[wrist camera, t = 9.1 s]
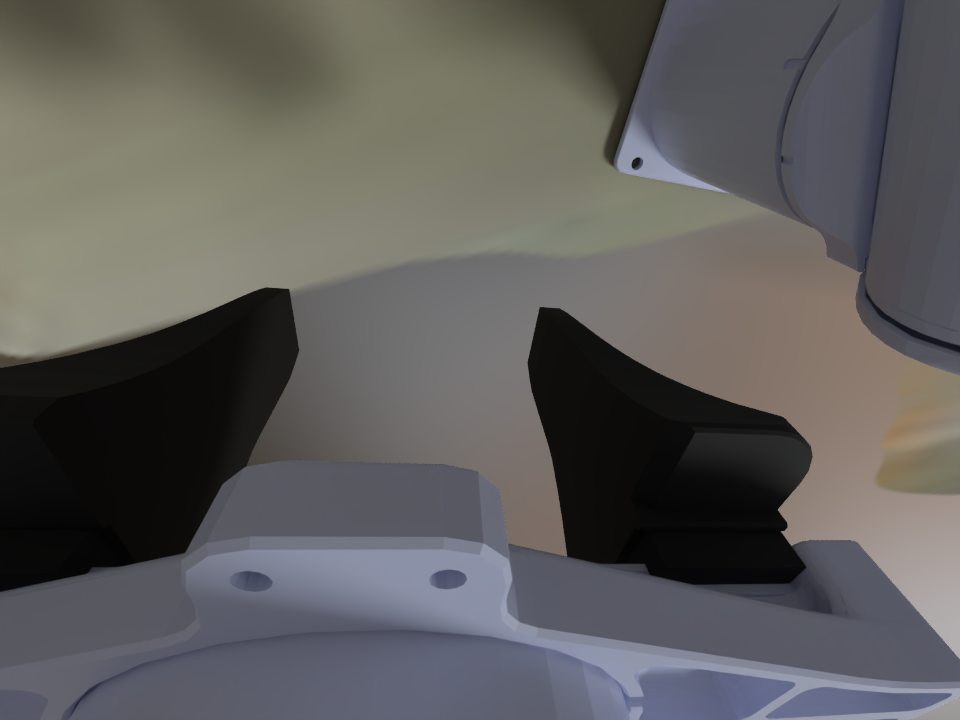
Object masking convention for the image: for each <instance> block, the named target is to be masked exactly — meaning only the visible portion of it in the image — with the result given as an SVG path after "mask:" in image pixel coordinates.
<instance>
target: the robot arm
mask: <svg viewBox="0 0 960 720" xmlns="http://www.w3.org/2000/svg"><path fill="white" fill-rule="evenodd" d="M637 157H639V159H640V162H639V164H638V166H637V167H635V168H632V166H631V165H632V161H633V160H634V159H635V158H637ZM614 167H615V169H616V170H617V171H619V172H621V173H624V174H630V175H635V176H640V177H645V178H650V179H656V180H661V181H666V182H671V183H677V184H682V185H687V186H692V187H697V188H703V189H708V190H713V191H718V192H723V193H729V194H733V195H736V196H738V197H740V198H743V199H745V200H748V201H750V202H752V203H755V204H757V205H759V206H762V207H764V208H767V209H769V210H771V211H774V212H776V213H779V214H781V215H783V216H786V217H788V218H791V219H793V220H795V221H798V222H800V223H802V224H805V225H807V226H810V227H812V228H815V229H816V230H817V231H818V232H820V233H821V235H822V236H823V238H824V240H825V243H826V246H827V256H828V257H829V258H831V259H833V260H835V261H837V262H840V263H842V264H844V265H846V266H848V267H850V268H852V269H854V270H856V271H858V272H863V271H864V272H863V273H862V274H861V275H860V279H859V283H858V288H857V292H856V308H857V311H858V314H859V316H860V318H861V320H862V322H863V323H864V325H865V326H866V327H867V328H868V329H869V330H870V332H871V333H872V334H873V335H875V336H876V337H877V338H879V339H880V340H881V341H883V342H884V343H885V344H886V345H888V346H890V347H891V348H893V349H895V350H897V351H899V352H900V353H902V354H904V355H906V356H908V357H910V358H913V359H915V360H917V361H920V362H922V363H925V364H927V365H929V366H932V367H935V368H938V369H941V370H945V371H948V372H951V373H954V374H957V375H960V0H666V3H665V6H664V9H663V12H662V15H661V18H660V21H659V24H658V27H657V30H656V33H655V36H654V39H653V42H652V45H651V48H650V51H649V54H648V57H647V61H646V64H645V67H644V70H643V73H642V76H641V79H640V82H639V85H638V88H637V91H636V94H635V97H634V100H633V103H632V106H631V109H630V112H629V115H628V118H627V121H626V124H625V127H624V130H623V133H622V136H621V139H620V142H619V145H618V148H617V151H616V155H615V158H614ZM864 269H865V270H864ZM298 352H299V347H298V340H297V334H296V328H295V323H294V316H293V310H292V304H291V298H290V292H289V289H280V288H263V289H259V290H256V291H254V292H251V293H249V294H246V295H244V296H242V297H240V298H237V299H235V300H233V301H231V302H228V303H226V304H224V305H222V306H219V307H217V308H215V309H213V310H210V311H208V312H206V313H203V314H201V315H198V316H196V317H193V318H191V319H188V320H186V321H183V322H181V323H178V324H176V325H173V326H171V327H168V328H165V329H163V330H160V331H157V332H154V333H151V334H148V335H145V336H141V337H138V338H135V339H132V340H128V341H125V342H122V343H118V344H114V345H110V346H106V347H102V348H98V349H94V350H90V351H85V352H81V353H78V354H73V355H69V356H64V357H59V358H54V359H49V360H44V361H39V362H33V363H28V364H22V365H16V366H10V367H4V368H0V720H911V719H913V718H915V717H918V716H920V715H922V714H924V713H926V712H928V711H931V710H933V709H935V708H937V707H939V706H942V705H944V704H946V703H948V702H950V701H952V700H955V699H957V698H959V697H960V659H959V658H958V657H957V656H956V655H955V653H954V652H953V651H952V650H951V649H950V648H949V646H947V644H946V643H945V642H944V641H943V640H942V639H941V637H940V636H939V635H938V634H937V633H936V632H935V630H933V628H932V627H931V626H930V625H929V624H928V623H927V621H926V620H925V619H924V618H923V617H922V616H921V615H920V613H919V612H918V611H917V610H916V609H915V608H914V607H913V605H912V604H911V603H910V602H909V601H908V600H907V599H906V598H905V596H904V595H903V594H902V593H901V592H900V591H899V589H898V588H897V587H896V586H895V585H894V584H893V583H892V582H891V581H890V579H889V578H888V577H887V576H886V575H885V574H884V572H883V571H882V570H881V569H880V568H879V567H878V566H877V564H876V563H875V562H874V561H873V560H872V559H871V558H870V556H869V555H868V554H867V553H866V552H865V551H864V550H863V549H862V547H861V546H860V545H859V544H858V543H857V542H855V541H851V540H809V541H802V542H800V543H797V544H795V545H793V546H791V545H790V544H789V542H788V541H787V540H786V538H785V537H784V536H783V534H782V533H781V531H785V529H786V528H787V522H786V521H785V519H784V518H783V517H782V516H781V514H780V513H779V511H778V508H779V507H780V506H781V505H782V504H783V502H784V501H785V500H786V499H787V498H788V497H789V496H790V494H791V493H792V492H793V491H794V490H795V489H796V487H797V486H798V485H799V484H800V482H801V481H802V480H803V478H804V477H805V475H806V474H807V472H808V471H809V467H810V464H811V460H812V451H811V446H810V445H809V444H808V443H807V441H806V440H805V439H804V438H803V437H802V436H801V435H800V434H799V433H798V432H797V431H796V429H795V428H794V427H792V425H791V424H789V423H788V421H787V420H786V419H785V418H783V417H781V416H778V415H774V414H771V413H767V412H763V411H760V410H756V409H753V408H749V407H746V406H742V405H738V404H735V403H732V402H729V401H726V400H723V399H720V398H717V397H714V396H712V395H709V394H706V393H703V392H701V391H698V390H696V389H693V388H690V387H688V386H686V385H683V384H681V383H679V382H677V381H674V380H672V379H670V378H667V377H665V376H663V375H661V374H659V373H657V372H655V371H653V370H651V369H650V368H648V367H646V366H644V365H642V364H640V363H639V362H637V361H635V360H633V359H632V358H630V357H628V356H627V355H625V354H624V353H622V352H621V351H619V350H617V349H616V348H614V347H613V346H611V345H610V344H609V343H607V342H606V341H604V340H603V339H601V338H600V337H599V336H597V335H596V334H594V333H593V332H592V331H591V330H589V329H588V328H587V327H585V326H584V325H583V324H581V323H580V322H578V321H577V320H576V319H575V318H573V317H572V316H570V315H569V314H568V313H566V312H565V311H563V310H561V309H559V308H546V307H540V309H539V313H538V318H537V322H536V327H535V332H534V336H533V341H532V345H531V350H530V354H529V359H528V370H529V377H530V383H531V389H532V393H533V396H534V399H535V403H536V406H537V410H538V413H539V416H540V419H541V423H542V426H543V429H544V432H545V436H546V439H547V442H548V445H549V449H550V453H551V457H552V461H553V467H554V472H555V478H556V483H557V488H558V495H559V501H560V507H561V513H562V520H563V528H564V535H565V543H566V550H567V557H566V556H562V555H557V554H553V553H548V552H544V551H539V550H534V549H530V548H526V547H521V546H516V545H512V544H508V542H507V533H506V526H505V519H504V512H503V505H502V500H501V495H500V489H499V488H498V487H497V486H495V485H494V484H493V483H491V482H490V481H489V480H488V479H486V478H485V477H484V476H482V475H481V474H480V473H478V472H476V471H473V470H469V469H464V468H459V467H454V466H449V465H444V464H409V463H364V462H323V461H322V462H321V461H280V462H274V463H267V464H261V465H254V466H249V467H246V466H247V463H248V461H249V458H250V455H251V453H252V450H253V448H254V446H255V444H256V442H257V440H258V438H259V436H260V434H261V432H262V430H263V428H264V426H265V425H266V423H267V421H268V419H269V417H270V415H271V413H272V411H273V410H274V408H275V406H276V404H277V401H278V400H279V398H280V396H281V394H282V392H283V391H284V389H285V387H286V385H287V383H288V381H289V379H290V376H291V374H292V371H293V368H294V365H295V362H296V359H297V355H298Z"/></svg>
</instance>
